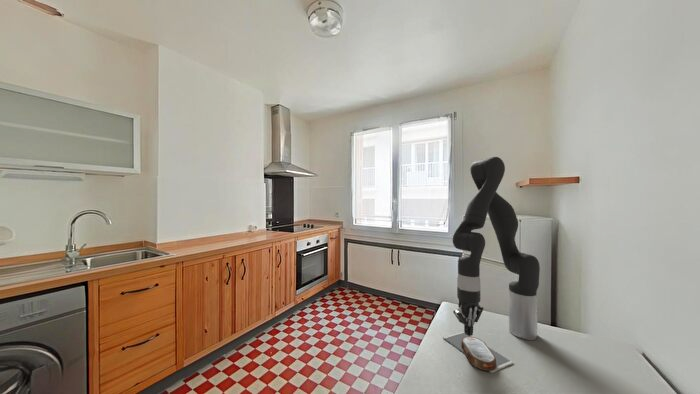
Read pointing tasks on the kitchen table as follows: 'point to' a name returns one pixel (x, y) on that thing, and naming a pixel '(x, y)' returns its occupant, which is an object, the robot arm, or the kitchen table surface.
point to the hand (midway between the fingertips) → (468, 334)
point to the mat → (500, 360)
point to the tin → (478, 353)
